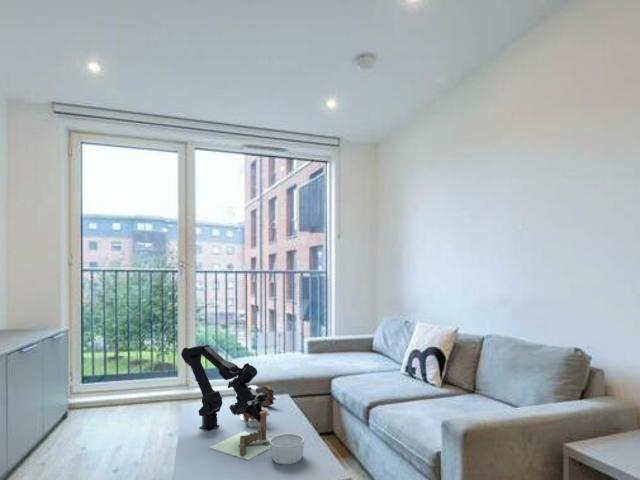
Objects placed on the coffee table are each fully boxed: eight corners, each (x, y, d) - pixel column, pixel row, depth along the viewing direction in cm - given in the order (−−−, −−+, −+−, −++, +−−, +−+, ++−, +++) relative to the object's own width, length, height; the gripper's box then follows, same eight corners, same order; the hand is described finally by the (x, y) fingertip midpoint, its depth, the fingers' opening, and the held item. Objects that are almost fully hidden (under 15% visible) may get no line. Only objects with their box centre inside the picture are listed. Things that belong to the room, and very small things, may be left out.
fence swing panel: (247, 445, 169) (247, 417, 170) (243, 443, 171) (243, 416, 172) (268, 438, 175) (268, 412, 176) (264, 436, 177) (264, 410, 178)
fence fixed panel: (240, 446, 170) (240, 435, 170) (245, 445, 170) (245, 435, 170) (240, 457, 160) (240, 446, 160) (245, 456, 160) (245, 445, 160)
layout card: (209, 448, 168) (209, 447, 168) (243, 431, 185) (243, 431, 185) (248, 460, 157) (248, 459, 157) (281, 441, 173) (281, 440, 173)
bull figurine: (268, 428, 189) (268, 409, 190) (241, 426, 192) (241, 408, 192) (271, 424, 193) (271, 406, 194) (244, 422, 196) (244, 405, 197)
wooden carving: (251, 403, 225) (251, 384, 226) (257, 401, 229) (257, 382, 229) (271, 409, 214) (271, 389, 215) (278, 407, 218) (278, 387, 219)
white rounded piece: (269, 416, 205) (268, 385, 206) (253, 423, 195) (253, 390, 196) (250, 412, 211) (250, 381, 212) (234, 418, 202) (234, 387, 203)
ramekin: (272, 451, 165) (272, 433, 165) (305, 451, 164) (305, 432, 165) (267, 466, 152) (267, 447, 152) (303, 466, 151) (303, 447, 152)
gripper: (244, 397, 193) (262, 426, 187) (216, 405, 177) (235, 438, 170) (259, 381, 191) (277, 411, 184) (232, 389, 174) (251, 421, 168)
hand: (260, 420), depth 177 cm, fingers closed, pressing on fence swing panel
